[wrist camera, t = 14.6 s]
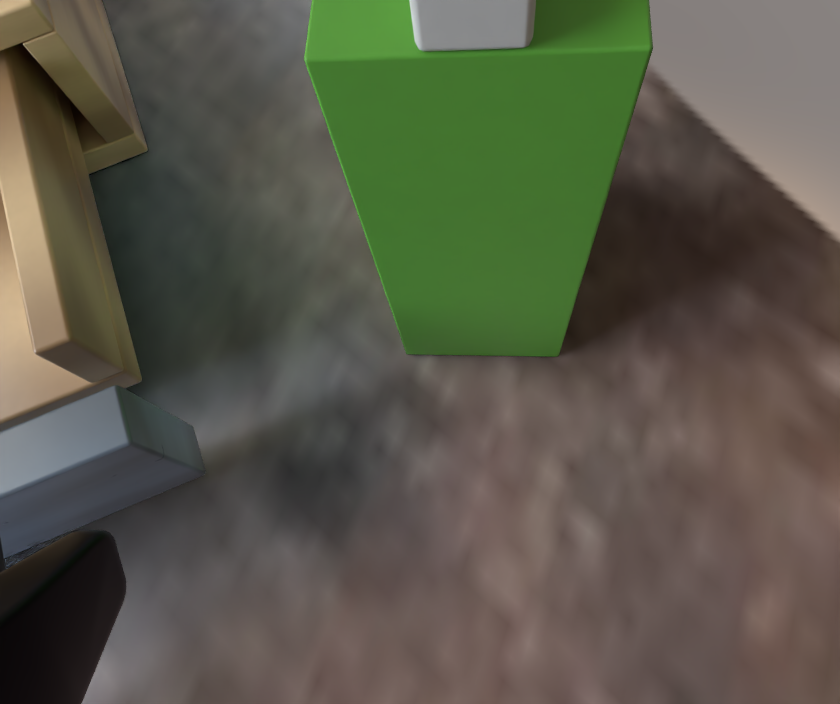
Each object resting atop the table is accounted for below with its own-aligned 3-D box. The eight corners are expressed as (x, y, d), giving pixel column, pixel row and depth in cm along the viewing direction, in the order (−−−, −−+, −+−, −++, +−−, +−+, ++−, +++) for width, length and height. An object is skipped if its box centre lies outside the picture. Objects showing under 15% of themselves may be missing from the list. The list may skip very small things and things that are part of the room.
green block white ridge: (559, 357, 16) (681, -41, 6) (406, 354, 16) (273, -22, 6) (555, 174, 17) (645, -380, 7) (416, 175, 18) (326, -349, 8)
